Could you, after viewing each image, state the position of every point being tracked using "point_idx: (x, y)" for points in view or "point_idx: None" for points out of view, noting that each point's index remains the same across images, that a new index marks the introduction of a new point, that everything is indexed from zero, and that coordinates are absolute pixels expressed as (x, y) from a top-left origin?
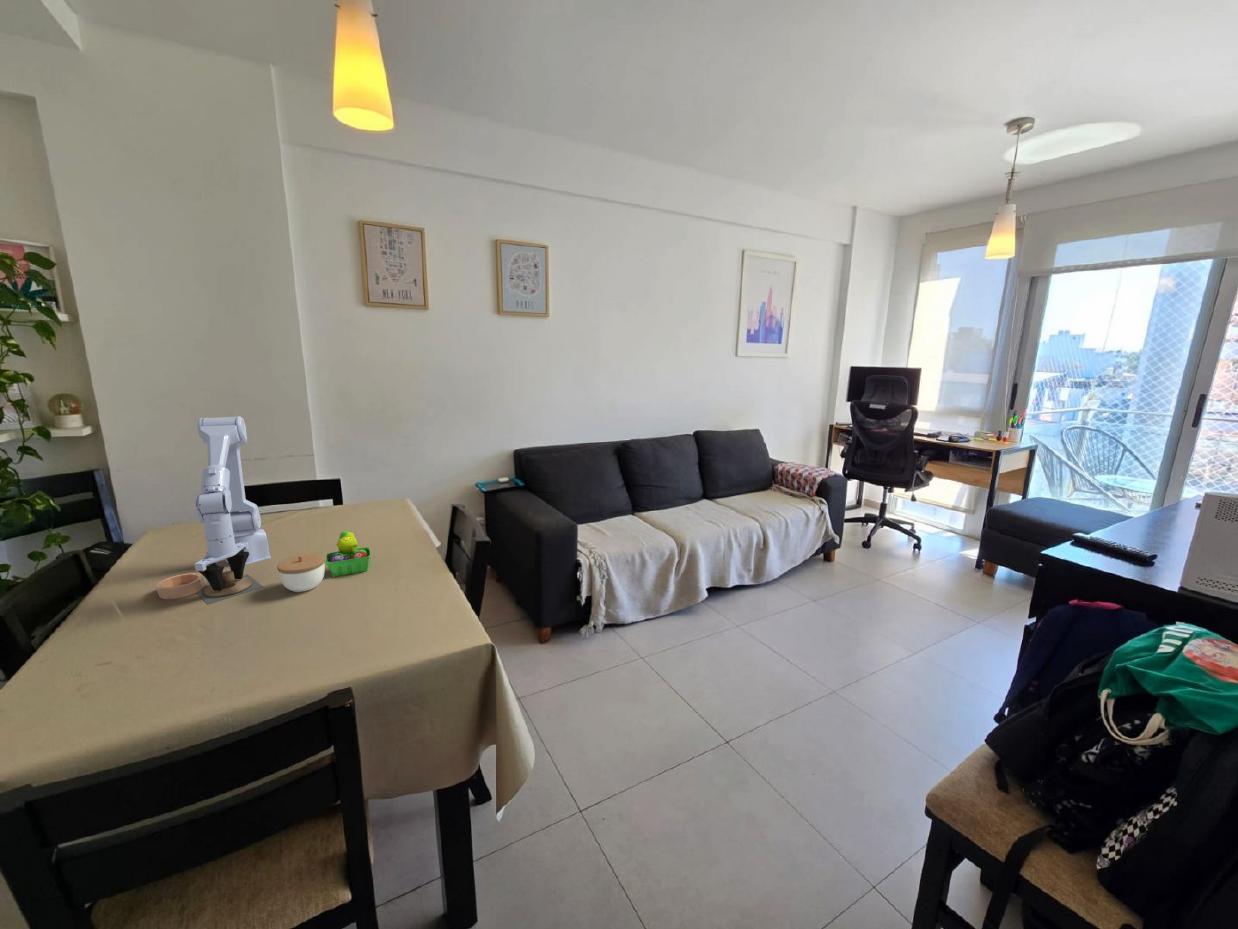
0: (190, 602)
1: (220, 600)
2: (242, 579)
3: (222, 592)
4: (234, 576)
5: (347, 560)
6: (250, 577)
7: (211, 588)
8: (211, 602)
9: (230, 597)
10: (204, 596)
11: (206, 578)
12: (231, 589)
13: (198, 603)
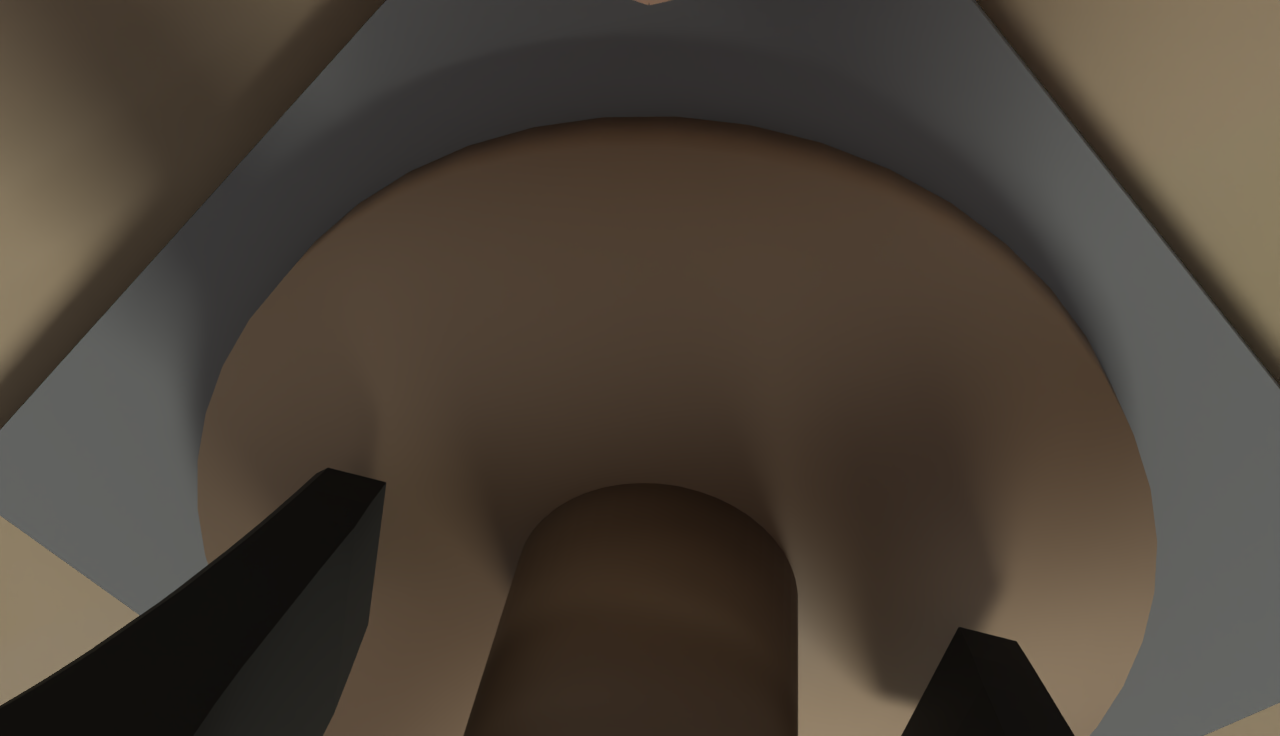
0: (41, 14)
1: (132, 609)
2: None
3: None
4: (959, 712)
5: None
6: (1199, 724)
7: (527, 310)
8: (30, 509)
9: None
10: (269, 240)
11: (16, 714)
12: (451, 709)
13: (31, 229)
